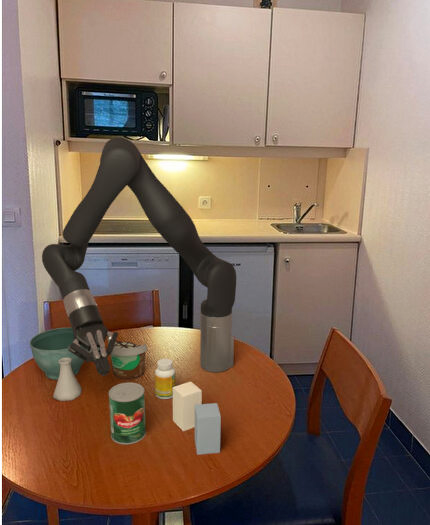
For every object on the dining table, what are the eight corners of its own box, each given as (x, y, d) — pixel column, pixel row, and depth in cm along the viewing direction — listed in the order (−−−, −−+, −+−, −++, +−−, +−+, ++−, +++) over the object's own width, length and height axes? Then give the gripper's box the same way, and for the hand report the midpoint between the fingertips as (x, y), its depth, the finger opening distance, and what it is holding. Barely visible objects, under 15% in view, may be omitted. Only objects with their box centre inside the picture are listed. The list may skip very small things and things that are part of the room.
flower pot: (26, 368, 132) (23, 334, 129) (80, 355, 141) (78, 323, 139) (42, 392, 119) (38, 355, 117) (99, 375, 129) (97, 341, 126)
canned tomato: (133, 419, 108) (131, 378, 106) (152, 434, 103) (151, 391, 100) (104, 433, 103) (101, 390, 100) (123, 449, 97) (121, 405, 95)
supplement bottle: (156, 389, 122) (155, 357, 120) (176, 389, 122) (175, 357, 120) (154, 400, 117) (153, 366, 114) (175, 399, 117) (174, 366, 115)
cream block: (190, 414, 111) (190, 381, 109) (201, 424, 107) (201, 390, 105) (173, 420, 108) (172, 387, 106) (183, 431, 104) (183, 396, 102)
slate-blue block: (216, 438, 102) (217, 403, 99) (220, 452, 97) (220, 416, 95) (194, 440, 101) (194, 404, 99) (197, 454, 96) (197, 417, 94)
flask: (73, 403, 115) (70, 368, 112) (47, 400, 116) (44, 364, 114) (86, 389, 122) (84, 355, 119) (62, 386, 123) (59, 352, 121)
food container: (99, 376, 128) (98, 344, 126) (112, 367, 134) (110, 336, 131) (136, 385, 124) (135, 352, 121) (148, 375, 129) (147, 343, 127)
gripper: (102, 313, 120) (125, 372, 113) (53, 323, 112) (75, 388, 105) (111, 299, 115) (135, 360, 108) (60, 309, 106) (83, 376, 100)
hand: (105, 374), depth 107 cm, fingers closed
